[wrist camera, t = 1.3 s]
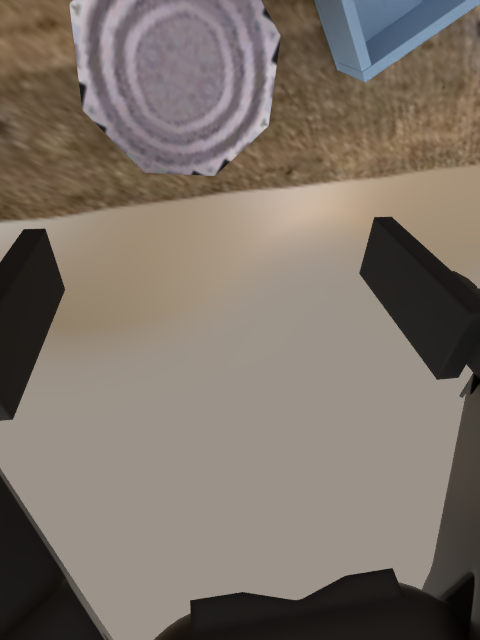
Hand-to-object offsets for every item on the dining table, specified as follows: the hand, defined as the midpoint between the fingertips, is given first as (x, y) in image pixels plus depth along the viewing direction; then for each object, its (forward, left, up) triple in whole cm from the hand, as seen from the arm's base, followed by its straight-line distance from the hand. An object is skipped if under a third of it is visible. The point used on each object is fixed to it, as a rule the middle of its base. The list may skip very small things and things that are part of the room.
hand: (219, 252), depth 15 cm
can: (-4, +2, -24) cm, 24 cm away
